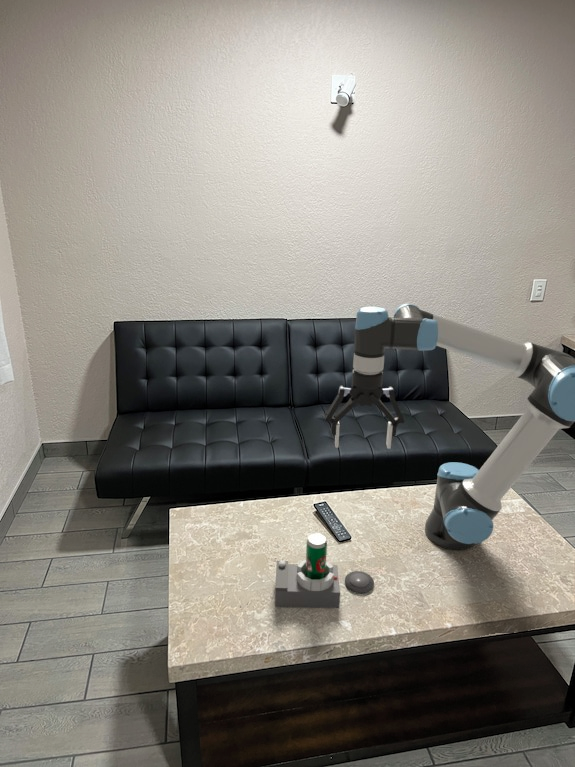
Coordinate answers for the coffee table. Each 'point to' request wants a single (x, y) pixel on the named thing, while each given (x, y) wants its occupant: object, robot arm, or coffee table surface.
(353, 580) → the lens cap
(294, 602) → the camera body
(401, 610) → the coffee table surface
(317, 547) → the soda can
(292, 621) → the coffee table surface
